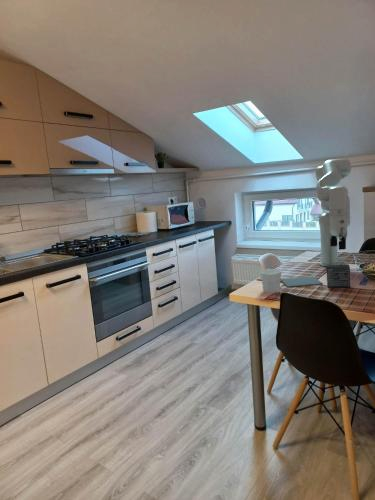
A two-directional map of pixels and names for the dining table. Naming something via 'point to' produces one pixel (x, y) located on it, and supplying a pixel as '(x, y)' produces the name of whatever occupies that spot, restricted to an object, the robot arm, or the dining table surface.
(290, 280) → the mat
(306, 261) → the dining table surface
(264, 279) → the cup
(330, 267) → the small box
